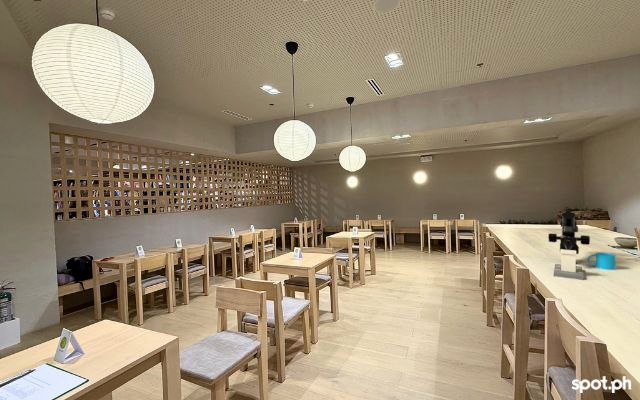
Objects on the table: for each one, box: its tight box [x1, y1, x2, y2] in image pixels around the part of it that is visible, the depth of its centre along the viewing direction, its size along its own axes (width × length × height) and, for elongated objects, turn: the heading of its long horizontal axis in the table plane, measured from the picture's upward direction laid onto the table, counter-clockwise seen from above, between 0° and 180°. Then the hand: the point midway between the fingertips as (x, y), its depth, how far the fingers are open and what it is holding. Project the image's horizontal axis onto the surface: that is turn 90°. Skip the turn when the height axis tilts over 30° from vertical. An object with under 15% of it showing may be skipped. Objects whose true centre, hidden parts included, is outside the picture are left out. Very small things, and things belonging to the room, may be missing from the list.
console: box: [553, 263, 584, 281], centre depth 163 cm, size 22×12×2 cm, turn 139°
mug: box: [587, 252, 616, 271], centre depth 172 cm, size 12×8×8 cm
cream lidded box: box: [559, 249, 577, 272], centre depth 160 cm, size 4×7×11 cm, turn 49°
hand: (568, 250), depth 170 cm, fingers closed
